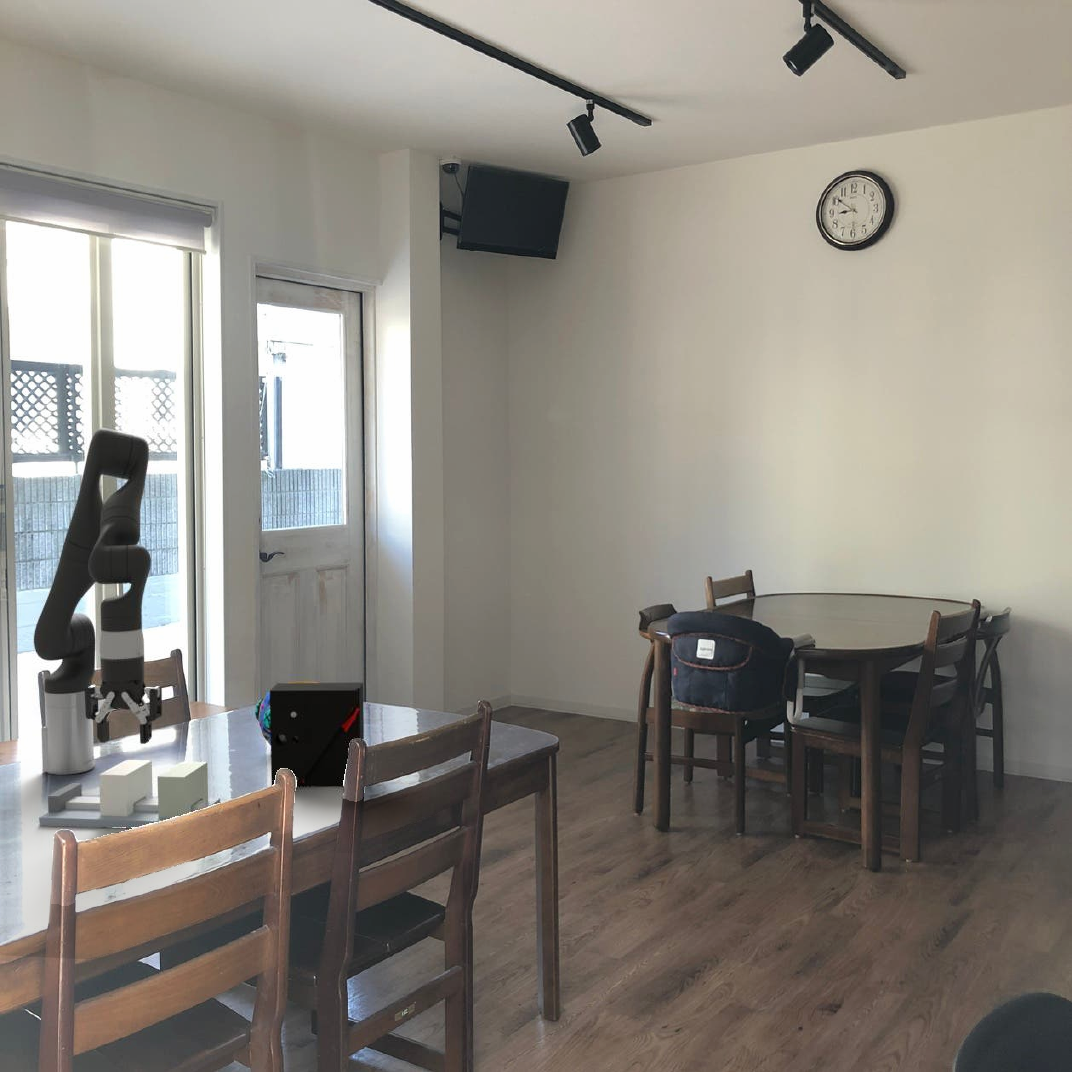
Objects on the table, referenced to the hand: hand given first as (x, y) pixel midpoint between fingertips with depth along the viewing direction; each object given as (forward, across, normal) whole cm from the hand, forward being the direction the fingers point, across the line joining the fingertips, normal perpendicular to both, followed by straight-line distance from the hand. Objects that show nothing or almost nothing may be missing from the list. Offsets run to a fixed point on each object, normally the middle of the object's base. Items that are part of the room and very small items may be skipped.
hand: (124, 742), depth 197 cm
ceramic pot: (+14, -17, -47) cm, 52 cm away
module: (+12, 0, 0) cm, 12 cm away
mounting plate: (+14, -1, 0) cm, 14 cm away
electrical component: (+14, -29, -24) cm, 40 cm away
